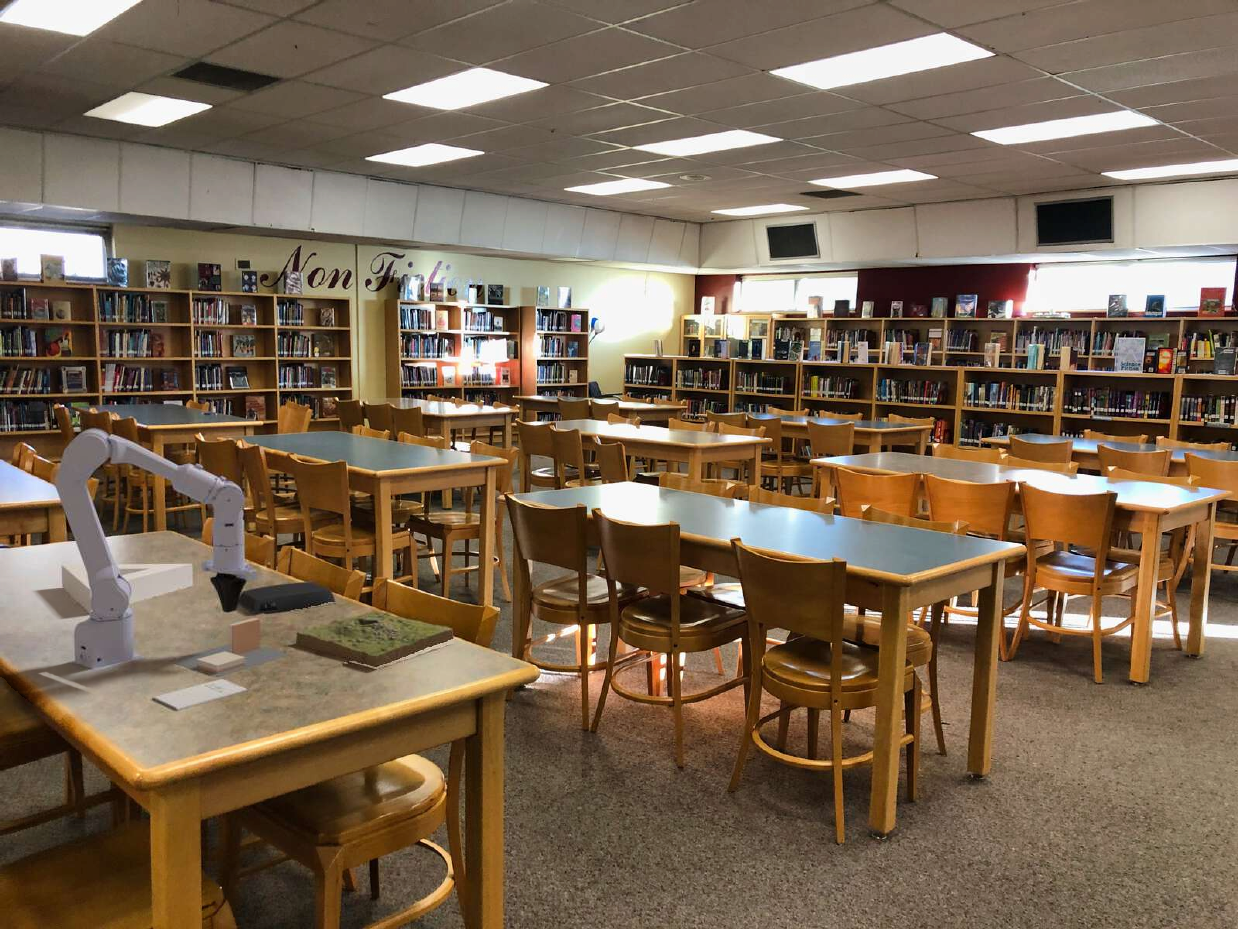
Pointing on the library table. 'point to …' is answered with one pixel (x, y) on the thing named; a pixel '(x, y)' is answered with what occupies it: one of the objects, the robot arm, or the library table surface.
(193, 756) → the library table surface
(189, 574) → the triangle block
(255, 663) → the slate mat
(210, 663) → the tile left
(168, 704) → the external hard drive
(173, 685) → the library table surface
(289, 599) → the external hard drive
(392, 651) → the miniature landscape model
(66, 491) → the robot arm
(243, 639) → the tile right
